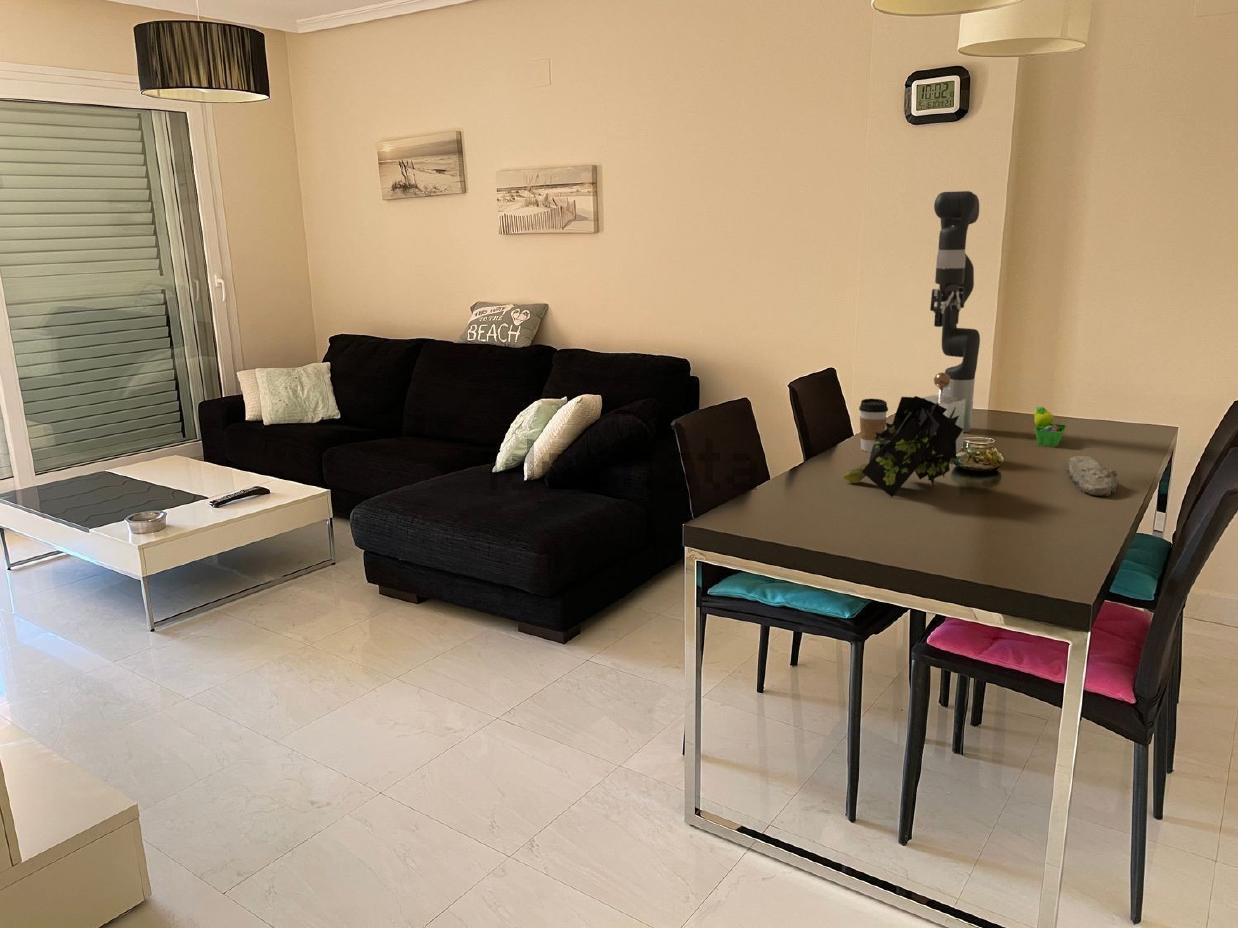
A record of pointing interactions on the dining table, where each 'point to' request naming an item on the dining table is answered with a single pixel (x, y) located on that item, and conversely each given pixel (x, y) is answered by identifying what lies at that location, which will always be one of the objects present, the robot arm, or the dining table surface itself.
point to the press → (950, 405)
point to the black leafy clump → (911, 446)
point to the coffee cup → (871, 421)
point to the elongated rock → (1091, 476)
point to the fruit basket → (1047, 428)
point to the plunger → (941, 383)
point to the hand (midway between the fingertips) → (946, 325)
